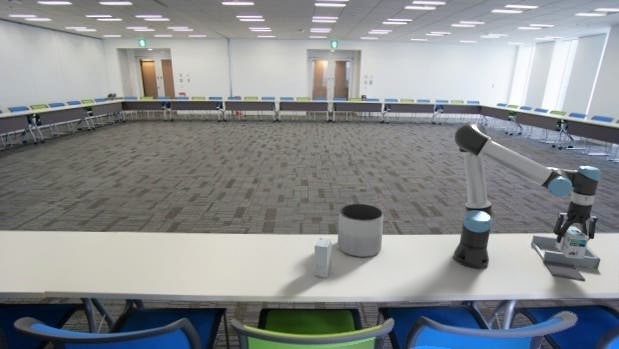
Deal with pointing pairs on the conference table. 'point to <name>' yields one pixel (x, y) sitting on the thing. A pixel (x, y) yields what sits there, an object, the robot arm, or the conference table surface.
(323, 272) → the skincare box
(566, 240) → the light bulb box
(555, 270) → the mat
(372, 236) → the planter
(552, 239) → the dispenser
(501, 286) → the conference table surface
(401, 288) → the conference table surface
